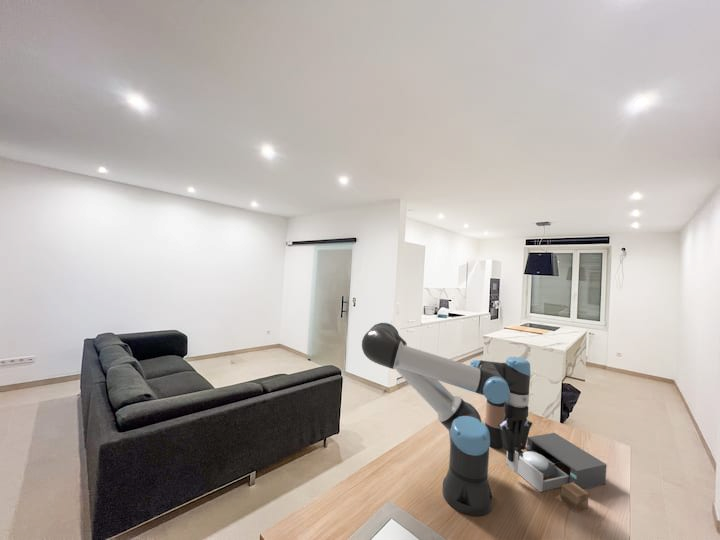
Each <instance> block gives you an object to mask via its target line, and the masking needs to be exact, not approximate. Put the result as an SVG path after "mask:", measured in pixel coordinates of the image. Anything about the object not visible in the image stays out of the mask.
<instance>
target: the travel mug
mask: <svg viewBox="0 0 720 540" xmlns="http://www.w3.org/2000/svg"><path fill="white" fill-rule="evenodd" d="M485 405H486V406H485V422H484V424H485V425H486V427H487V428H488V430H489V434H490V446H489V448H492V449H494V450H500V449H504V448H503V444H502V438H501V431H500V428H499V426H498V423H501V424H502V423H503V422H504V418H505V412H504V403H501V404H495V403H492V402H490V401H489V400H488V399H487V398H486V404H485Z"/></svg>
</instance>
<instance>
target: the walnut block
mask: <svg viewBox="0 0 720 540" xmlns="http://www.w3.org/2000/svg"><path fill="white" fill-rule="evenodd" d="M560 488H561V489H560V500H561V501H562V502H563V503H564V504H566V505H567V506H568V507H569V508H571V510H573V511H574V512H576V513H577V512H581V511H584V510H588V507H589V496H590V495H589V493H588V492H587V491H586V490H585V489H582V488H580V487H579V486H578V485H576V484H575V483H573V482H572V483H568V484H563V485H562V486H561V487H560Z"/></svg>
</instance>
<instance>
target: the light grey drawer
mask: <svg viewBox="0 0 720 540" xmlns="http://www.w3.org/2000/svg"><path fill="white" fill-rule="evenodd" d="M522 452H523V453H524V452H525V451H522ZM531 452H535V451H534V450H532V451H531ZM523 453H522V454H520V457H519V460H518V472H516V473H517V474H518V475H520V477H521V478H523V479H524V480H525V481H526V482H528V483H529V484H530V485H531V487H533V488H534V489H536V490H537V491H538V492H540V493H541V492H546V491H550V490H555V489H559V488H561V486H562V485H563V484H568V483H570V474H567V473H566V472H565V471H563V470H562V469H561V468H559V467H558V466H557V465H555V464H556V463H555V464H554V463H552V462H551V461H550V460H548V459H547V458H546V459H547V460H548V469H547V470H538V469H536V468H535V467H534V466H532V465H531V464H530V463H529V462H527V461H526V460H525V459H523ZM535 453H537V452H535ZM505 455H506V457H505V464H506V465H508V464H509V460H508V451H506V453H505ZM540 455H541V454H540ZM553 476H554V477H553ZM548 477H553V478H548ZM544 478H548V479H544Z"/></svg>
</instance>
